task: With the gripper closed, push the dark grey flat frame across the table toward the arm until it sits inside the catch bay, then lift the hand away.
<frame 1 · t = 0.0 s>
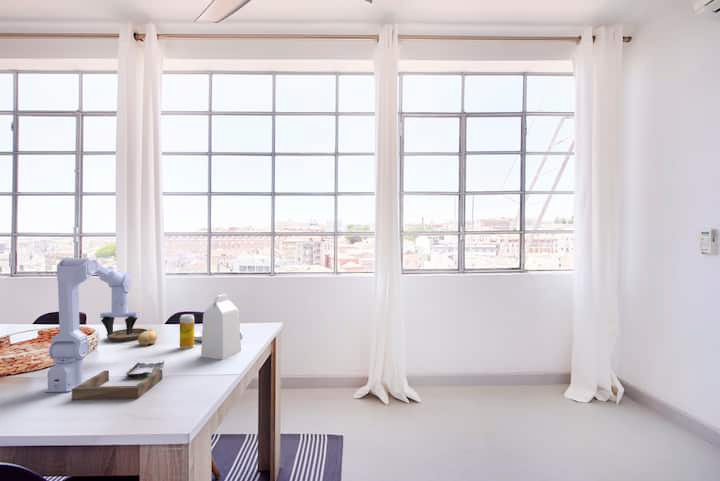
hand: (119, 334, 149), 10 cm above the table, tool pointing down, fingers open, 7 cm apart
milk: (221, 354, 156), on the table
beige rounded lump: (147, 344, 169), on the table
spoon rest: (218, 340, 179), on the table
catch bay: (121, 388, 120), on the table
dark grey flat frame: (144, 374, 134), on the table
beer can: (187, 347, 165), on the table
plant saucer: (127, 338, 180), on the table
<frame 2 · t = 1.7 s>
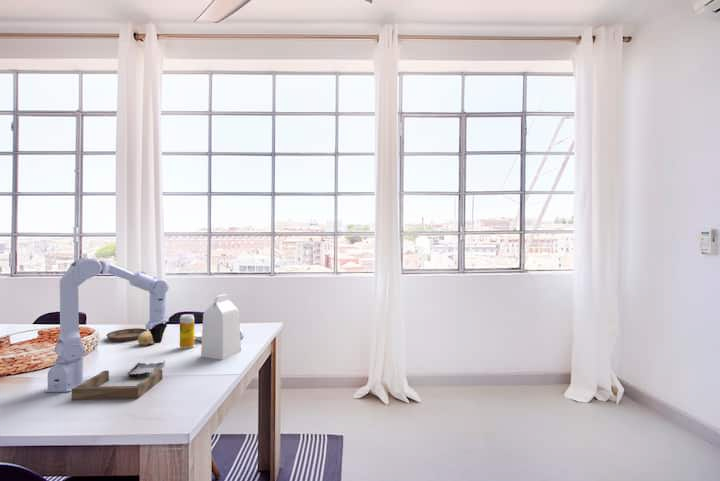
hand: (157, 342, 144), 8 cm above the table, tool pointing down, fingers closed
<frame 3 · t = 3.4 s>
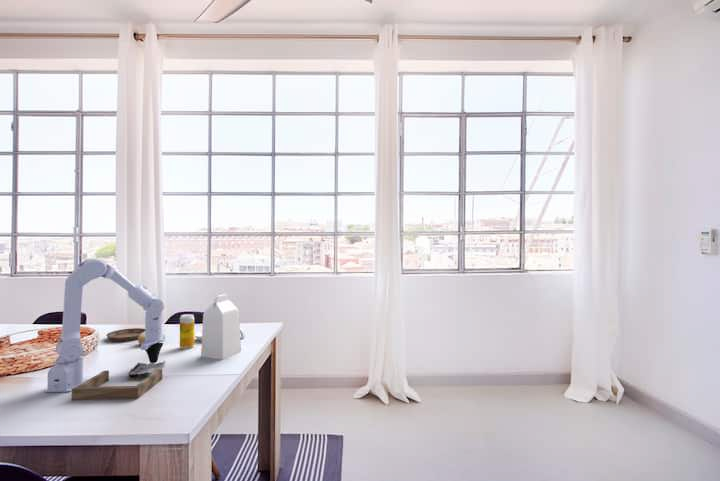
hand: (153, 362, 141), 1 cm above the table, tool pointing down, fingers closed
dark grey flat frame: (145, 374, 133), on the table, touching gripper
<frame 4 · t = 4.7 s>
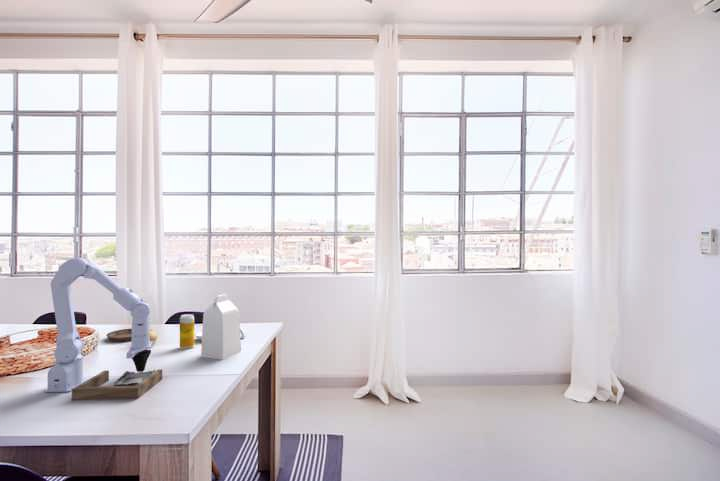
hand: (140, 371, 131), 1 cm above the table, tool pointing down, fingers closed
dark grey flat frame: (133, 384, 124), on the table, touching gripper
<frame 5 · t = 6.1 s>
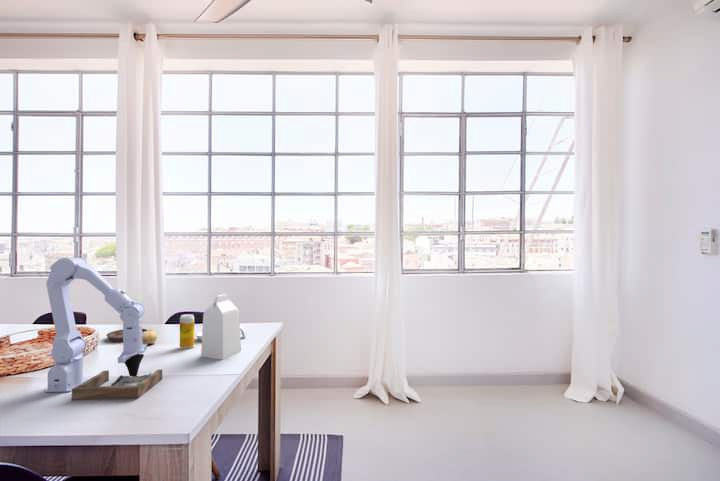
hand: (133, 376, 126), 2 cm above the table, tool pointing down, fingers closed, pressing on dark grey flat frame
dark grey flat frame: (127, 388, 120), on the table, touching catch bay, gripper
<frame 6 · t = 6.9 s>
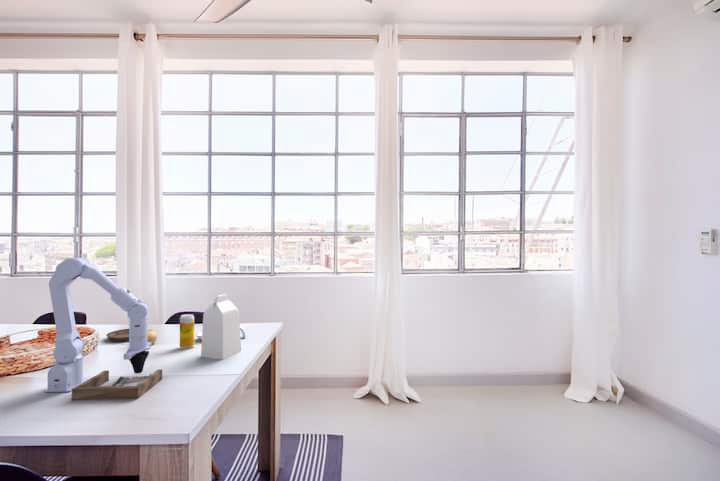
hand: (138, 372, 130), 1 cm above the table, tool pointing down, fingers closed
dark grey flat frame: (128, 389, 120), on the table
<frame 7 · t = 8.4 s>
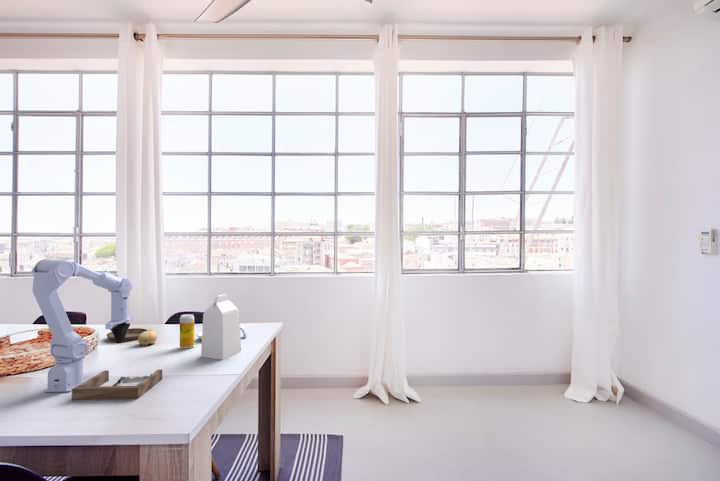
hand: (119, 342, 140), 9 cm above the table, tool pointing down, fingers closed
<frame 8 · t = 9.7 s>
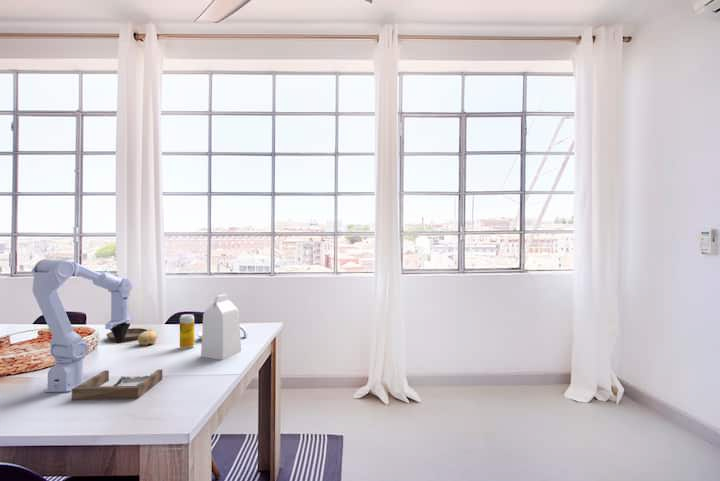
hand: (119, 342, 140), 9 cm above the table, tool pointing down, fingers closed
at the end: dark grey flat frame inside the target area on the catch bay (3.2 cm from its centre), point -0.7 cm above the catch bay's base; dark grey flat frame tilted 2°; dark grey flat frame moved 14.4 cm from its start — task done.
